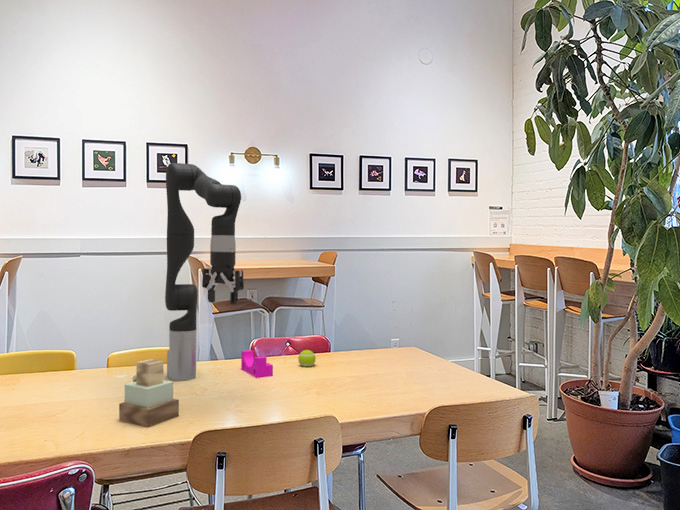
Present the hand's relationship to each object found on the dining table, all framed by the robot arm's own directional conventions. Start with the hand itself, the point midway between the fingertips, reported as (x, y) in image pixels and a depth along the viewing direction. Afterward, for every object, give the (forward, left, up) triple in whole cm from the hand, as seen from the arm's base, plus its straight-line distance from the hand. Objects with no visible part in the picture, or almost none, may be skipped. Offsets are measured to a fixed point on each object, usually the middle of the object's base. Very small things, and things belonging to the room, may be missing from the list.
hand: (222, 303), depth 176 cm
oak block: (-6, -24, -20) cm, 32 cm away
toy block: (-11, +34, -30) cm, 47 cm away
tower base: (-6, -24, -30) cm, 39 cm away
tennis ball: (-1, +52, -30) cm, 60 cm away
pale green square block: (-6, -24, -25) cm, 35 cm away
